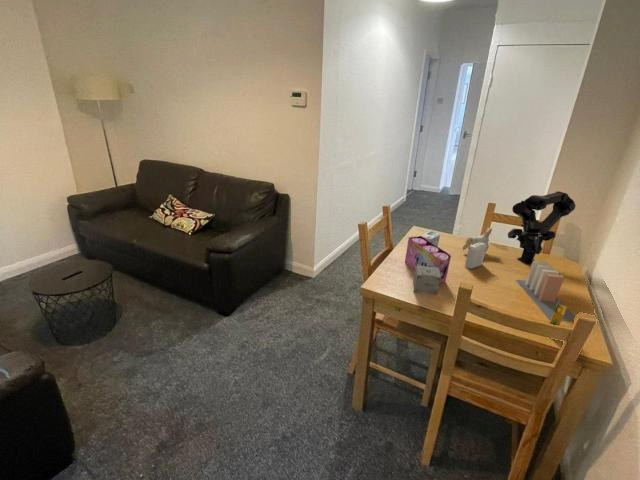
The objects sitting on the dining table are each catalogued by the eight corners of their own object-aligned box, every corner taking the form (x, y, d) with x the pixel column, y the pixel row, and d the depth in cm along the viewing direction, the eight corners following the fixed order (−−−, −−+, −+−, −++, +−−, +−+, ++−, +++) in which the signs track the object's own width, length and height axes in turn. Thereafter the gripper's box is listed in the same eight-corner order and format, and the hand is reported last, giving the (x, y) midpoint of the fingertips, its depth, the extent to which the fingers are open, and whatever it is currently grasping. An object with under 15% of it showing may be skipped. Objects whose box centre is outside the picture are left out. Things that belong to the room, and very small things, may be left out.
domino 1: (525, 283, 154) (533, 260, 149) (538, 284, 154) (547, 261, 149) (526, 285, 153) (534, 262, 148) (540, 286, 152) (549, 263, 147)
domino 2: (529, 288, 151) (537, 264, 146) (543, 289, 150) (552, 265, 145) (531, 290, 149) (539, 266, 144) (545, 291, 149) (554, 267, 144)
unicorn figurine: (493, 251, 186) (500, 228, 180) (471, 258, 176) (477, 235, 171) (482, 246, 192) (488, 224, 186) (460, 253, 182) (465, 230, 176)
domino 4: (538, 298, 143) (547, 274, 138) (552, 299, 143) (562, 275, 138) (540, 300, 142) (549, 276, 137) (554, 301, 141) (564, 277, 136)
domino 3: (533, 293, 147) (542, 269, 142) (548, 294, 146) (557, 270, 142) (535, 295, 145) (544, 271, 140) (549, 296, 145) (559, 272, 140)
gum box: (448, 283, 152) (454, 257, 147) (433, 286, 150) (439, 259, 144) (417, 259, 173) (421, 235, 167) (404, 261, 170) (408, 237, 165)
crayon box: (554, 337, 121) (565, 311, 116) (545, 333, 123) (555, 307, 118) (558, 328, 126) (568, 302, 121) (548, 324, 128) (559, 299, 123)
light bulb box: (425, 248, 186) (429, 230, 182) (437, 252, 182) (440, 233, 177) (415, 253, 179) (418, 235, 175) (427, 258, 175) (430, 239, 170)
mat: (515, 280, 157) (515, 279, 157) (541, 282, 157) (541, 281, 157) (548, 320, 130) (549, 319, 130) (581, 323, 129) (581, 322, 129)
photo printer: (475, 261, 173) (481, 239, 168) (483, 265, 170) (489, 242, 165) (463, 266, 168) (468, 243, 163) (470, 270, 165) (476, 247, 160)
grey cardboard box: (413, 294, 143) (417, 272, 139) (412, 283, 151) (416, 263, 147) (437, 297, 142) (442, 275, 138) (435, 286, 149) (439, 266, 145)
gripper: (517, 212, 153) (521, 244, 148) (560, 215, 152) (565, 247, 147) (505, 222, 164) (509, 252, 158) (545, 224, 162) (550, 255, 157)
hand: (533, 251), depth 155 cm, fingers open, 4 cm apart
